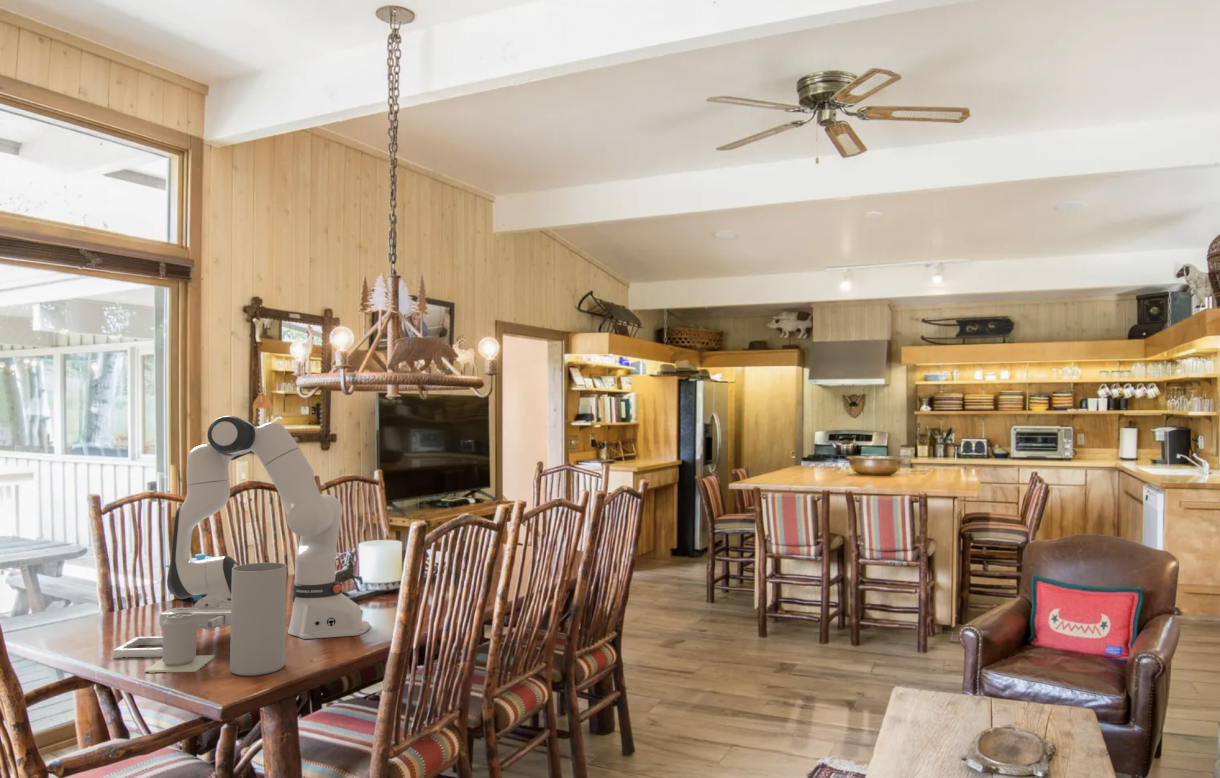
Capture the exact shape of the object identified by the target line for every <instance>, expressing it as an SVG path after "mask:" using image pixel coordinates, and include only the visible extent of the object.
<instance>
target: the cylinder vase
mask: <svg viewBox="0 0 1220 778" xmlns="http://www.w3.org/2000/svg"><path fill="white" fill-rule="evenodd" d="M238 565H239V564H238ZM287 568H288V565H287V564H285V563H282V562H253V563H245V564H240V565H239V566H235V567H233V568H232V586H231V626H230V646H229V648H230V649H229V671H230V672H231V673H232V674H234V675H236V676H244V677H253V676H255V677H256V676H262V675H268V674H271V673H274V672H275V673H276V672H278V671H280V670H281V669H283V667H284V666H285V664H286V620H287V619H286V618H287V615H286V614H287V613H286V612H287Z"/></svg>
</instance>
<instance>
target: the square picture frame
mask: <svg viewBox="0 0 1220 778" xmlns="http://www.w3.org/2000/svg"><path fill="white" fill-rule="evenodd" d="M139 645H151V646H163V635H162V636H135V637H133V638H131V639H130V640H128V641H126V642H125V643H122V644H121V645H119V646H118V647H116V648H114V649H113V650H112V659H124V658H123V657H126V658H125V659H129V658H128V657H144V658H162V654H163V647H142V648H141V647H140V646H139ZM137 646H138V647H137Z"/></svg>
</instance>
